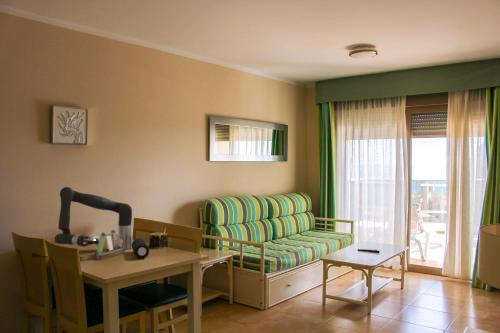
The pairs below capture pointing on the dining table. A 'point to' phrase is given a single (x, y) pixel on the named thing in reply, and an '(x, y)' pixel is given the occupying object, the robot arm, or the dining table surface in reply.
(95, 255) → the switch bank
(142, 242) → the portable speaker
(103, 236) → the green lever
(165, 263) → the dining table surface
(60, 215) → the robot arm
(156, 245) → the candle
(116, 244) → the steel lever
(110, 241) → the cream paddle
